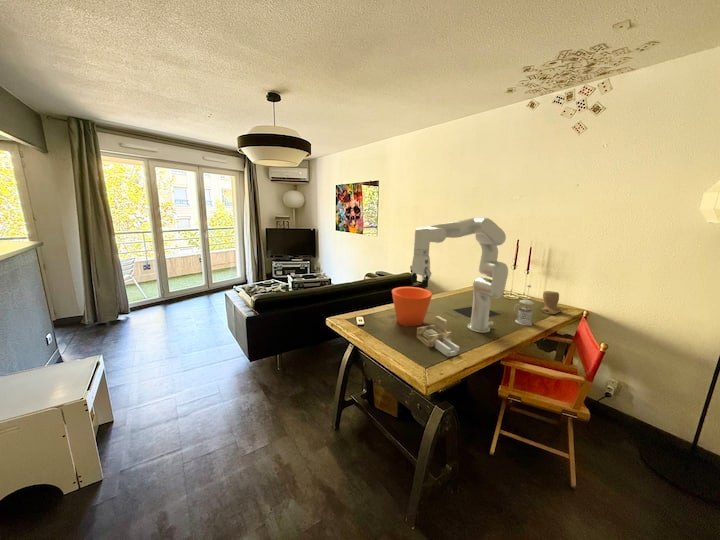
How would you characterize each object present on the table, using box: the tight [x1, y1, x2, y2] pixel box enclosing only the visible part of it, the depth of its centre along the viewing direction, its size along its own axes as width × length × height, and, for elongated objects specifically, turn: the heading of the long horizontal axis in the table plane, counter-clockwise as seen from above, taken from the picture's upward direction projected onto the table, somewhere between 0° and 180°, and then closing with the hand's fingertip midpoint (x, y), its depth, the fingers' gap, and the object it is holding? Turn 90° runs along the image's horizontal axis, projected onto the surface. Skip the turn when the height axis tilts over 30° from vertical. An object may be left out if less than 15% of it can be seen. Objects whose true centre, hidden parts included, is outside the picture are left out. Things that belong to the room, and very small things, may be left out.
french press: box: [513, 284, 535, 326], centre depth 172 cm, size 10×12×25 cm
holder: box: [433, 338, 460, 358], centre depth 134 cm, size 7×10×5 cm, turn 22°
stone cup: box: [540, 290, 562, 315], centre depth 193 cm, size 15×12×15 cm
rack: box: [416, 324, 453, 348], centre depth 144 cm, size 14×11×7 cm
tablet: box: [451, 306, 502, 320], centre depth 191 cm, size 27×1×20 cm
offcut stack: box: [423, 329, 438, 341], centre depth 143 cm, size 5×7×6 cm
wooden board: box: [434, 315, 448, 334], centre depth 145 cm, size 2×7×12 cm, turn 22°
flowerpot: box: [391, 286, 433, 328], centre depth 169 cm, size 25×25×20 cm
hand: (419, 285), depth 140 cm, fingers open, 9 cm apart
